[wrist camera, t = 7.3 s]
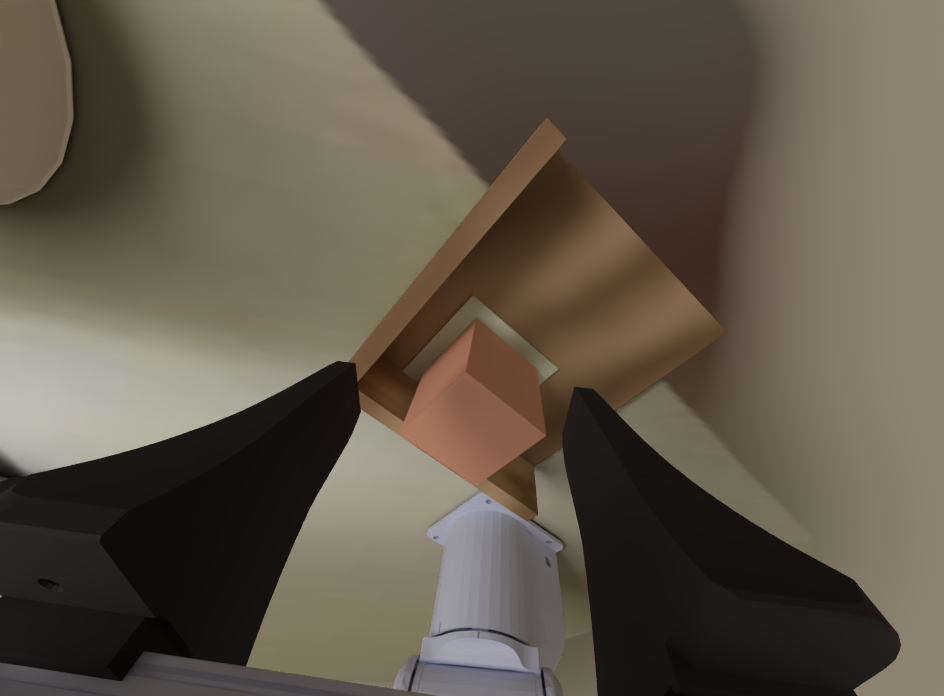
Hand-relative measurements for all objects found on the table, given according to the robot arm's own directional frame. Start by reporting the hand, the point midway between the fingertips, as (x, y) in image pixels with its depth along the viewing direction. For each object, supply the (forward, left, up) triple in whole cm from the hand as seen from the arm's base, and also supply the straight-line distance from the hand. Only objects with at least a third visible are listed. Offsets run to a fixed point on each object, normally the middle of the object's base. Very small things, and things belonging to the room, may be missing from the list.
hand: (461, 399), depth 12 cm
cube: (-3, +3, -9) cm, 10 cm away
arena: (-4, 0, -10) cm, 11 cm away
